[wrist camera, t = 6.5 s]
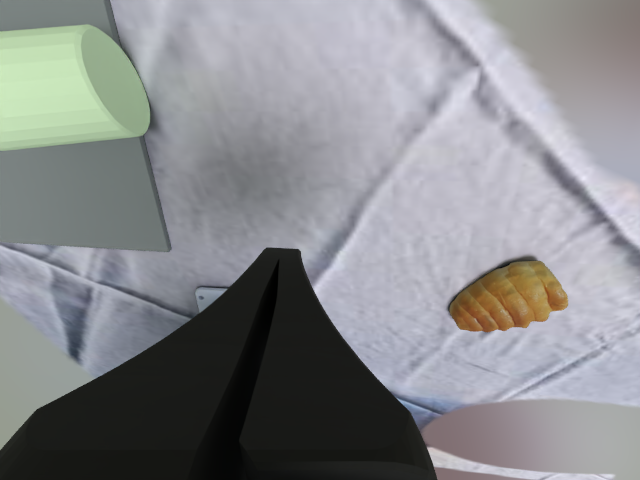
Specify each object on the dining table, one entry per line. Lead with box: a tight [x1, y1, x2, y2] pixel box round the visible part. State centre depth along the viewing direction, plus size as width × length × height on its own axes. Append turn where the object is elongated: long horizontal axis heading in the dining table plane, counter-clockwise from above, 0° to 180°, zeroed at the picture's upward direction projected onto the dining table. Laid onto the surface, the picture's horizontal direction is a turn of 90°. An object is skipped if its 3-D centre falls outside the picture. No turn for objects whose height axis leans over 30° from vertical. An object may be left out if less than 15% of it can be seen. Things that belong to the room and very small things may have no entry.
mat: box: [0, 0, 171, 252], centre depth 15 cm, size 20×13×1 cm, turn 175°
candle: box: [0, 24, 150, 151], centre depth 13 cm, size 5×5×8 cm
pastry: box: [449, 261, 568, 332], centre depth 24 cm, size 9×7×4 cm
